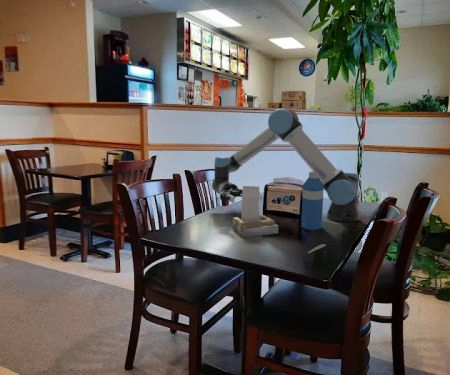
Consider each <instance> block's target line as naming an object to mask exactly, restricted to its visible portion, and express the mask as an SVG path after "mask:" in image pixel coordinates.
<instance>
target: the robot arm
mask: <svg viewBox="0 0 450 375" xmlns="http://www.w3.org/2000/svg"><path fill="white" fill-rule="evenodd" d="M267 125H268V127H267V128H266V129H264V131H261V133H260V134H258V135H257V136H256V137H255V138H253V139H252V140H251V141H249V142H247V144H245V145H244V146H243V147H241V148H240V149H239V150H237V151H236V152H235V153H234V154H232V155H231V156H230V157H228V156H222V155H221V156H216V157H215V158H214V164H213V165H214V179H213V181H212V183H211V189H212V190H213V191H214V192H215V193H216V194H219V200H221V201H222V200H223V202H227V201H229V202H230V203H231V204H235V198H238V197H240V198H242V192H243V188H242V189H241V188H239V187H238V186H237V185H236V184H235V183H232V182H230V174H231V173H235V172H237V171H238V170H239V169H240V168H241V167H242V166H243V165H244V164H246V163H247V162H249V161H250V160H251V159H253V158H254V157H255V156H257V155H258V154H260V153H261V152H262V151H264V150H265V149H267V147H269V146H271V144H273V143H274V142H276V141H277V140H279V139H280V140H281V141H283V143H288V144H289V145H290V146H291V147H292V149H293V150H294V151H295V152H296V153H297V154H298V155H299V156H300V158H301V159H302V160H303V161H304V163H305V164H306V165H307V166H308V167H309V169H311V172H318V177H319V179H320V180H321V181H322V183H323V184H324V190H323V191H325V192H326V194H327V196H328V198H329V200H330V201H331V203H330V206H329V207H328V210H327V213H326V218H327V219H328V220H330V221H331V220H332V221H335V222H339V223H340V222H343V223H355V222H358V221H359V218H360V217H359V216H360V215H359V211H358V207H357V198H358V185H359V179H360V178H359V175H358V173H352V172H344V171H343V170H342V169H337V168H336V167H335V166H334V165H333V163H332V162H331V161H330V160H329V159H328V158H327V157H326V156H325V154H324V153H323V152H322V151H321V150H320V149H319V147H318V146H317V145H316V144H315V143H314V142H313V140H312V139H311V138H310V137H309V136H308V135H307V133H305V131H304V130H303V124H302V123H301V122H300V119H299V117H298V115H297V113H296V112H295V111H294V110H292V109H287V108H282V107H281V108H277V109H275V110H273V111H272V112H270V114H269V117H268V120H267ZM262 201H263V194H261V193H260V191H259V202H262Z"/></svg>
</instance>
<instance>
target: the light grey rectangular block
mask: <svg viewBox="0 0 450 375" xmlns="http://www.w3.org/2000/svg"><path fill="white" fill-rule="evenodd" d="M242 189H243V192H242V194H241V195H242V197H241V216H240V217H241V218H240V219H241V220H243V221H244V222H249V221H259V215H260V214H259V209H260V201H259V192H260V186H256V185H253V186H252V185H251V186H250V185H242Z"/></svg>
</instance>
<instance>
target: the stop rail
mask: <svg viewBox="0 0 450 375" xmlns="http://www.w3.org/2000/svg"><path fill="white" fill-rule="evenodd" d="M276 234H279V225H278V224H276V223H275V224H271V225H260V226H250V227H242V234H241V236H242V237H244V238H248V237H256V236H257V237H258V236H267V235H276Z"/></svg>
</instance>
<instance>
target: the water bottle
mask: <svg viewBox="0 0 450 375" xmlns="http://www.w3.org/2000/svg"><path fill="white" fill-rule="evenodd" d="M324 191H325V190H324V184H323V183H322V181H321V180H320V179H319V177H318V172H313V171H309V172H308V177H307V179H306V180H305V181H304V182H303V184H302V192H301V193H302V194H301V197H302V199H301V200H302V201H301V223H300V224H301V226H300V227H301V228H303V229H305V230H310V231H316V230H321V228H322V225H323V223H322V222H323V206H324V205H323V204H324Z"/></svg>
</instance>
